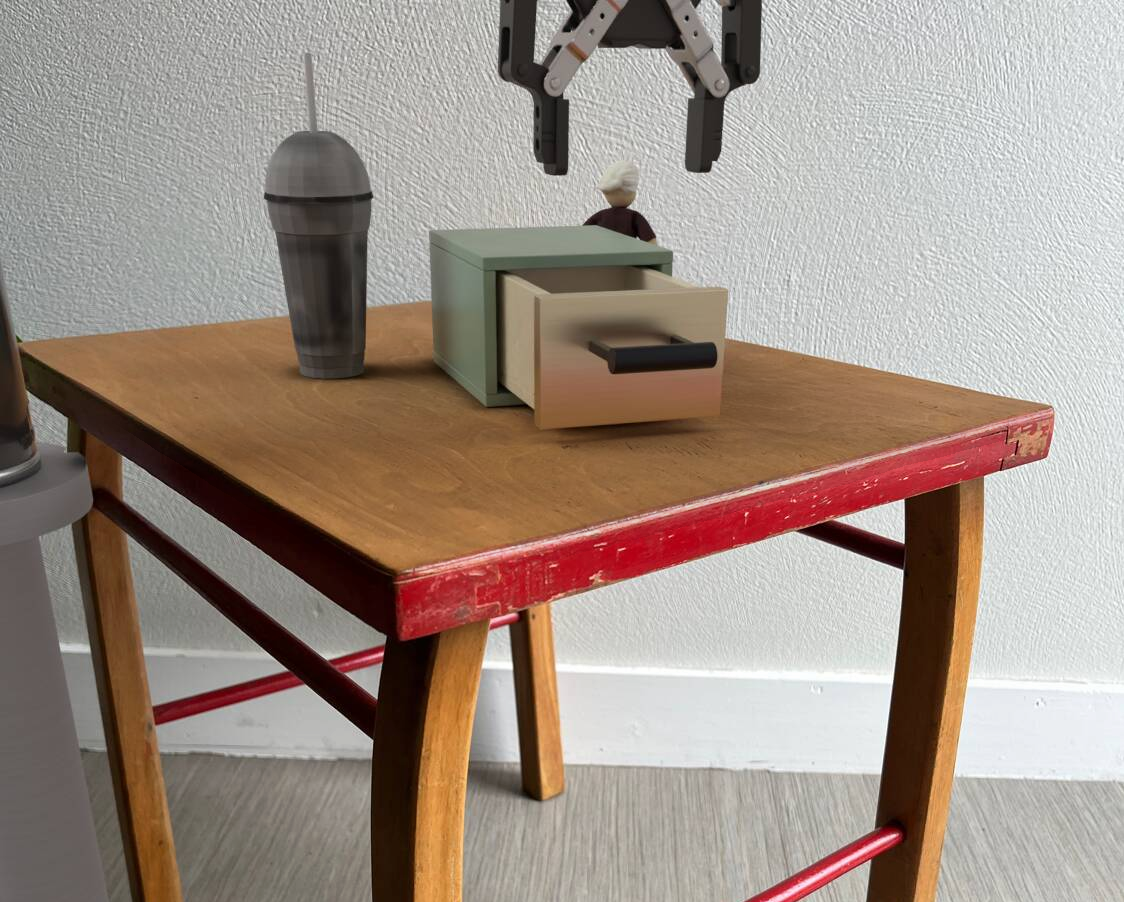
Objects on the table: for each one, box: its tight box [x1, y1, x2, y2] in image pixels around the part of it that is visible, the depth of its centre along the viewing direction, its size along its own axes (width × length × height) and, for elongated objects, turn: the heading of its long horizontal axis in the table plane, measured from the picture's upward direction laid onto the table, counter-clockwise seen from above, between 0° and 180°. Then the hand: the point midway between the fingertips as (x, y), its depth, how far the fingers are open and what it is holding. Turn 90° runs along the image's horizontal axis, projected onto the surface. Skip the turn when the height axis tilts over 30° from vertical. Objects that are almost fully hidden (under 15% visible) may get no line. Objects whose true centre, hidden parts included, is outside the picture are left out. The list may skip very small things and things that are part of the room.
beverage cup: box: [263, 52, 374, 380], centre depth 87 cm, size 7×7×20 cm
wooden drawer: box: [495, 265, 729, 431], centre depth 78 cm, size 18×11×7 cm, turn 18°
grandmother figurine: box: [581, 159, 659, 246], centre depth 106 cm, size 8×4×13 cm, turn 77°
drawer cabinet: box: [428, 225, 674, 408], centre depth 88 cm, size 15×13×9 cm
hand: (627, 173), depth 72 cm, fingers open, 8 cm apart
